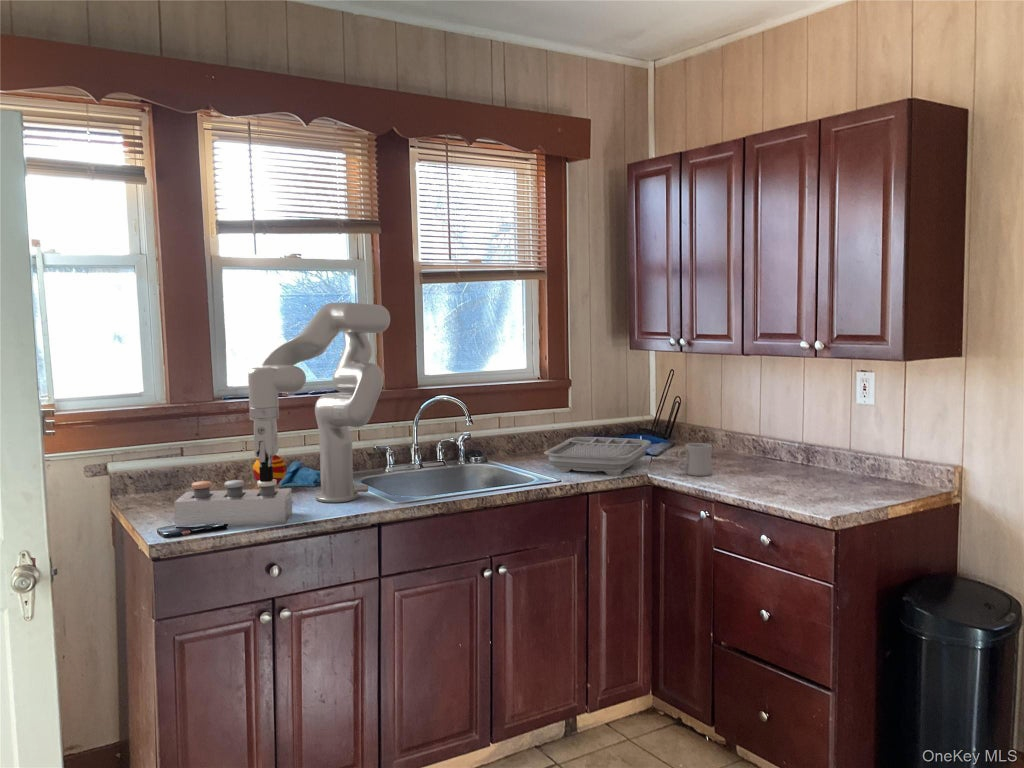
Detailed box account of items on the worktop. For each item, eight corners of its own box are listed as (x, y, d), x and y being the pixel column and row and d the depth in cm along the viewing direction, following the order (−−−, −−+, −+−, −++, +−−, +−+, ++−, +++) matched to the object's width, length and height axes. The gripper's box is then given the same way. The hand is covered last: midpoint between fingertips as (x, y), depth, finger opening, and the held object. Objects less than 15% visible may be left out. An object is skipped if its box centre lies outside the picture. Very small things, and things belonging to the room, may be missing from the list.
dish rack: (538, 473, 281) (538, 450, 280) (573, 455, 314) (573, 435, 314) (628, 480, 268) (628, 456, 268) (654, 461, 302) (654, 439, 301)
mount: (292, 512, 228) (291, 488, 228) (285, 523, 216) (284, 497, 216) (187, 516, 225) (186, 491, 224) (175, 528, 213) (174, 501, 212)
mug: (704, 470, 282) (704, 442, 281) (717, 475, 274) (717, 446, 273) (671, 472, 279) (671, 443, 278) (683, 478, 270) (683, 448, 269)
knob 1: (214, 509, 222) (213, 480, 221) (210, 514, 217) (208, 484, 216) (195, 510, 221) (194, 481, 221) (190, 515, 217) (189, 485, 216)
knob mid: (246, 508, 223) (245, 479, 222) (243, 513, 218) (242, 483, 217) (228, 509, 223) (226, 480, 222) (223, 513, 218) (222, 484, 217)
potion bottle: (250, 488, 260) (248, 441, 258) (283, 485, 265) (282, 439, 263) (256, 495, 251) (254, 446, 249) (290, 491, 255) (289, 443, 254)
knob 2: (278, 507, 224) (277, 478, 223) (275, 511, 219) (274, 482, 218) (260, 508, 224) (259, 479, 223) (256, 512, 219) (255, 483, 218)
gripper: (274, 416, 212) (276, 486, 214) (282, 409, 227) (285, 475, 228) (244, 417, 211) (246, 487, 213) (255, 410, 226) (257, 475, 227)
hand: (266, 480), depth 221 cm, fingers closed
